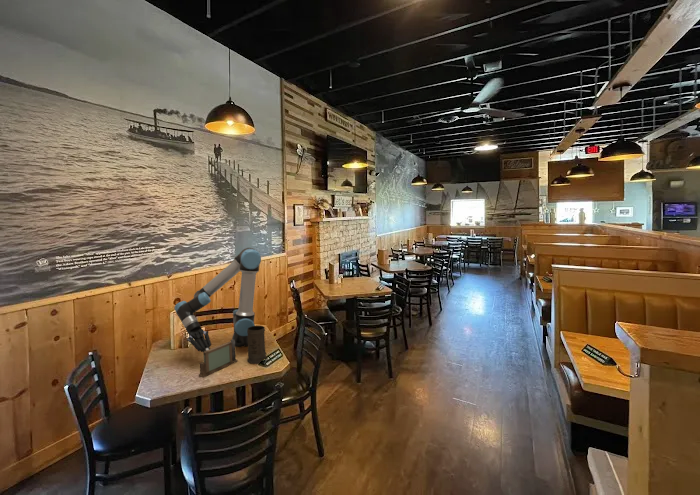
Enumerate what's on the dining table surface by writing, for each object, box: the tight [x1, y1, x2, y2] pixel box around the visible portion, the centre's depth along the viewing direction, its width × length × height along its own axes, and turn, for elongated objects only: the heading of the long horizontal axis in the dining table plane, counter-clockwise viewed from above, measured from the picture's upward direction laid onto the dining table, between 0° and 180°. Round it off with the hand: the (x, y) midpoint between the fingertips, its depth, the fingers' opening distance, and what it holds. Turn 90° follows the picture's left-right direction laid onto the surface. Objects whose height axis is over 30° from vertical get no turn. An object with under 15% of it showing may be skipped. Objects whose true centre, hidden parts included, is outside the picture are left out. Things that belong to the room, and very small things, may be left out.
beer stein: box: [247, 325, 267, 365], centre depth 201 cm, size 15×11×20 cm
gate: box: [202, 341, 232, 373], centre depth 188 cm, size 17×2×11 cm, turn 149°
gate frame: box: [198, 339, 239, 378], centre depth 189 cm, size 23×4×13 cm, turn 149°
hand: (211, 358), depth 190 cm, fingers closed
